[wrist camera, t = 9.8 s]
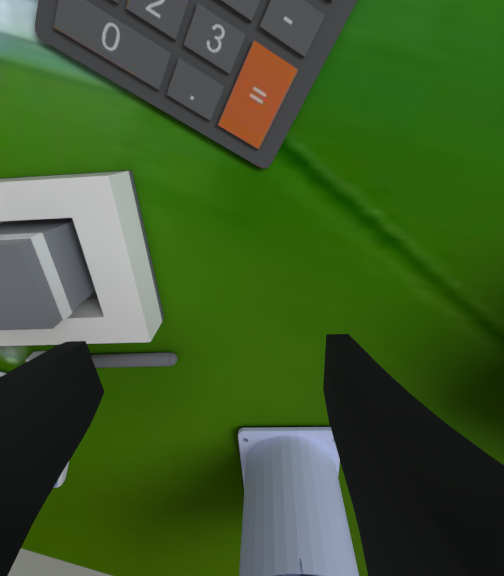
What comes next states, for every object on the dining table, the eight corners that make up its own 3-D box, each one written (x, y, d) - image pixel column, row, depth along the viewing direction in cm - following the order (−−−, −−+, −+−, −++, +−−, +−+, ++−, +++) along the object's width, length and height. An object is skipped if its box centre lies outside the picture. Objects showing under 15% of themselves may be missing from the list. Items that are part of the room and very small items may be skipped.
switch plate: (164, 318, 20) (149, 343, 17) (-38, 324, 20) (-79, 349, 18) (131, 169, 16) (107, 175, 13) (-117, 185, 17) (-182, 193, 14)
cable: (180, 361, 21) (176, 370, 20) (40, 364, 22) (32, 373, 21) (177, 347, 21) (173, 356, 20) (34, 351, 21) (25, 359, 20)
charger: (106, 282, 18) (53, 329, 14) (41, 285, 18) (-31, 332, 14) (85, 214, 16) (17, 242, 12) (14, 218, 17) (-79, 247, 12)
